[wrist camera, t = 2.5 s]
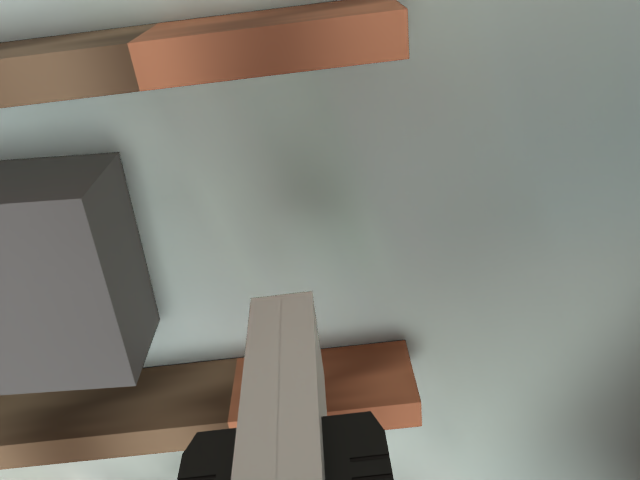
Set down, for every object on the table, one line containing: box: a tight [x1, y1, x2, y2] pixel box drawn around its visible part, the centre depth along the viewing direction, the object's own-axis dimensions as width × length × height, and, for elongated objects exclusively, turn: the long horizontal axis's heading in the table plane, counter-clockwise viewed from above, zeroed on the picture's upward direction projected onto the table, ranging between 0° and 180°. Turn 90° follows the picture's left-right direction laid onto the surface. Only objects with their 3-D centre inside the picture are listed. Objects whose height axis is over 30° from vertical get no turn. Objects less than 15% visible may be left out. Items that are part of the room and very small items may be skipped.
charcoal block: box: [0, 152, 160, 395], centre depth 19 cm, size 7×7×4 cm
